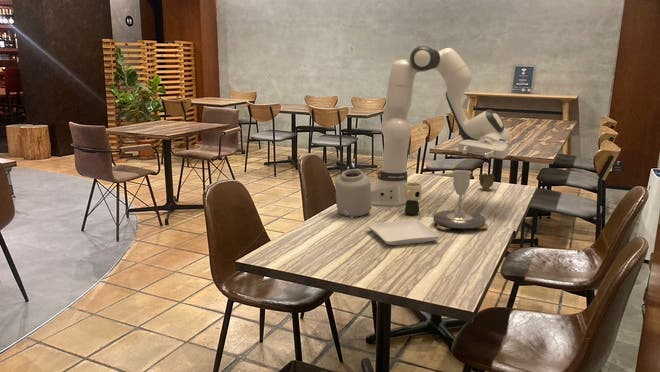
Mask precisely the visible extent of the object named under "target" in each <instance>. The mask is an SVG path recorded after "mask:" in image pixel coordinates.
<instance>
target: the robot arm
mask: <svg viewBox="0 0 660 372" xmlns="http://www.w3.org/2000/svg"><path fill="white" fill-rule="evenodd" d="M433 69H434V70H435V71H437V72H438V73H439V74H440V75H441V77H442V79H443V80H444V83H445V87H446V92H445V98H446V101H447V104H448V107H449V109H450V111H451V114H452V116H453V118H454V120H455V123H456V124H457V125H456V126H457V128H458V133H459V135H460V137H461V139H462V140H461V141H459V142H458V144H457V150H458V151H459V152H462V154H464V155H466V154H474V155H480V156H483V158H486V159H488V158H497V159H505V158H506V157H507V156H508V154H509V145H510V141H511V134H510V133H511V132H510V131H509V130H508V129H507V128H506V127H505V124H504V121H503V119H502V117H501V116H500V114H498V113H497V112H496V111H494V110H492V109H486V110H485V111H482V112H481V113H479V114H478V115H475V116H474V117H472V118H470V119H468V117H467V115H466V112H465V110H464V108H463V104H462V97H463V96H464V94H465V92H466V91H467V90H468V89H469V87H470V86H471V83H472V73H471V71H470V69H469V67H468V66H467V64H466V62H465V61H464V60H463V58H462V57H461V56H460V55H459V54H458V52H456V50H454V49H453V48H452V47H445V48H442V49H441V50H438V51H437V50H436V49H433V48H432V47H430V46H428V45H426V44H425V45H424V44H423V45H419V46H417V47H415V48H414V49H412V51H411V52H410V56H409V57H408V58H407V59H397V60H395V62H393V63H392V66H391V68H390V73H389V77H388V84H387V90H386V100H385V105H384V110H383V114H382V120H381V124H380V131H381V133H382V135H383V136H384V144H383V151H382V158H381V160H382V167H381V169H382V170H379V169H377V170H375V175H376V176H377V179H376V180H374V181H373V182H372V183H371V182H370V185H371V204H372V206H385V207H386V206H390V207H391V206H392V207H399V206H401V205H406V201H407V199H405V198H404V185H405V183H408V170H407V163H408V161H407V158H408V151H409V145H410V137H411V134H412V133H411V132H412V131H411V130H412V129H411V125H410V123H409V122H408V121H407V118H408V114H409V110H410V107H411V105H412V99H413V98H412V97H413V92H414V91H413V90H414V81H415V77H416V75H417V73H420V72H421V73H423V72H424V73H425V72H428V71H430V70H433Z"/></svg>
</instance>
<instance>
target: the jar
mask: <svg viewBox="0 0 660 372" xmlns="http://www.w3.org/2000/svg"><path fill="white" fill-rule="evenodd" d="M351 164H352V167H355V164H354V163H353V162H351ZM349 168H350V167H349V166H347V169H346V170H343V171H341V174H340V175H339V176H337V178H336V179H335V180H334V186H335V187H334V188H335V198H336V199H335V201H336V202H335V203H336V208H337V212H338V213H340V214H341V215H343V216H346V217H348V218H356V217H357V218H358V217H361V216H364V215H366V214H368V213H369V212H370V211H371V210H372V206H373V205H372V204H371V185H370V184H371V179H370V177H369V176H368V175H367V174H365V173H364V172H363V171H362V170H360V169H359V168H355V169H354V168H353V169H349Z"/></svg>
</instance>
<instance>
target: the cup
mask: <svg viewBox="0 0 660 372" xmlns="http://www.w3.org/2000/svg"><path fill="white" fill-rule="evenodd" d="M478 177H479V184H480V187H482V188H481V189H482V191H485V192H488V191H490V189H491V187H493V185H494V181H495V175H494V174H493V173H479V174H478Z"/></svg>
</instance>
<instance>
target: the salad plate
mask: <svg viewBox="0 0 660 372" xmlns="http://www.w3.org/2000/svg"><path fill="white" fill-rule="evenodd" d="M366 226H367V228H368V229H369V230H370V231H371V232H373V233H374V234H375V235H377V236H378V237H379V238H380V239H381V240H382V241H383V242H384V243H385V244H387V245H389V246H400V245H401V246H402V245H412V244H421V243H427V242H434V241H435V240H438V239H439V238H440V237H441V234H439V233H437V232H436V231H434V230H433V229H431V228H430V227H429V226H428V225H426V224H424V222H422V221H420V220H419V219H407V220H405V219H403V220H393V221H387V222H386V221H385V222H384V221H383V222H378V223H377V222H376V223H368V224H366Z"/></svg>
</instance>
